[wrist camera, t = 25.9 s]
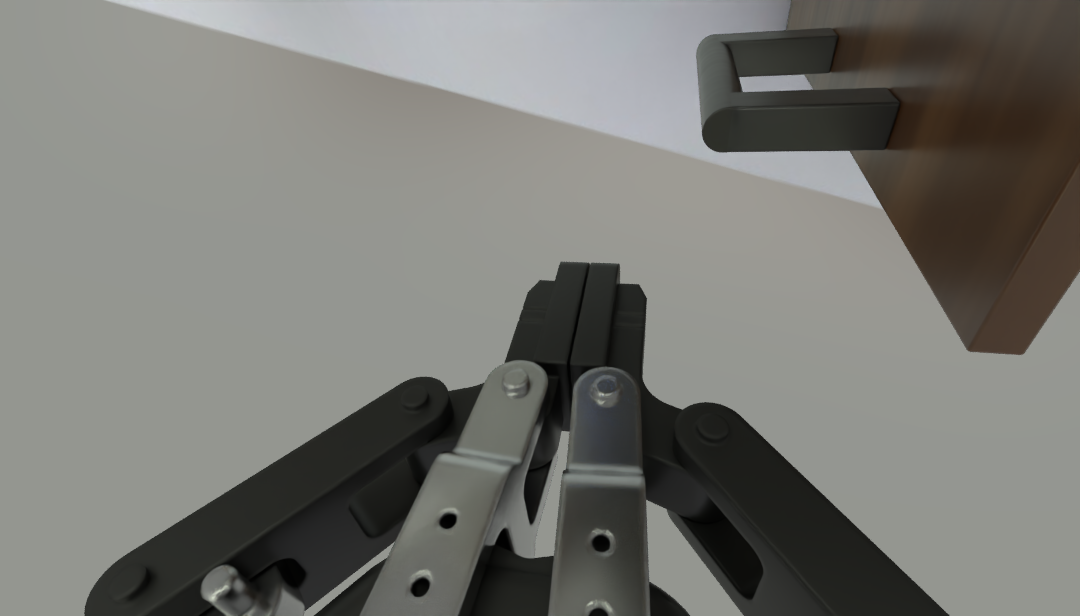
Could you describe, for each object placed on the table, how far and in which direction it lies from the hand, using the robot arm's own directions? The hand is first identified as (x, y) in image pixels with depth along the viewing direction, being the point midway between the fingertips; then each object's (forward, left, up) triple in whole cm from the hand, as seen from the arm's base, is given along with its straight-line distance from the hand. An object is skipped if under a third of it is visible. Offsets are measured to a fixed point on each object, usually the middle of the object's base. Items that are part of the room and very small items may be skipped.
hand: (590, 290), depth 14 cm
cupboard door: (+6, +11, -24) cm, 27 cm away
